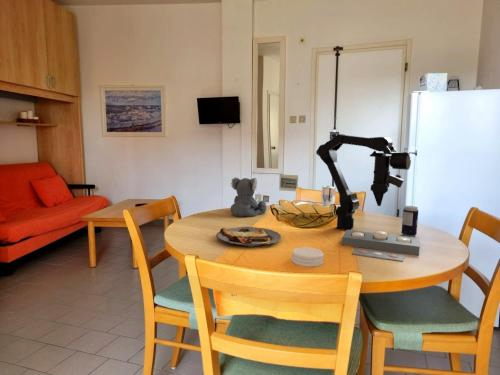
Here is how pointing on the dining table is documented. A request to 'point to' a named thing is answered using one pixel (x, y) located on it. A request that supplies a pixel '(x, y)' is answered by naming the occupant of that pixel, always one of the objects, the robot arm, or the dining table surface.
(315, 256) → the grey stacked discs
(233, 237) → the food plate
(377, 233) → the button middle
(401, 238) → the button right
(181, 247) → the dining table surface
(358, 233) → the button left
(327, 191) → the beer glass
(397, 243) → the button board
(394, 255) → the pattern card
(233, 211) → the koala plush
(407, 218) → the beverage can
